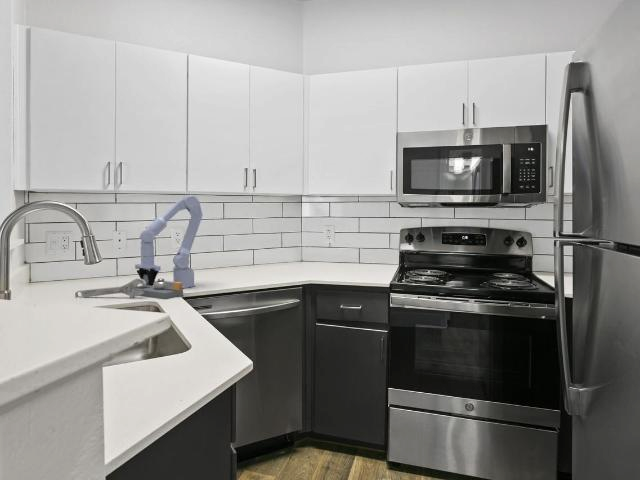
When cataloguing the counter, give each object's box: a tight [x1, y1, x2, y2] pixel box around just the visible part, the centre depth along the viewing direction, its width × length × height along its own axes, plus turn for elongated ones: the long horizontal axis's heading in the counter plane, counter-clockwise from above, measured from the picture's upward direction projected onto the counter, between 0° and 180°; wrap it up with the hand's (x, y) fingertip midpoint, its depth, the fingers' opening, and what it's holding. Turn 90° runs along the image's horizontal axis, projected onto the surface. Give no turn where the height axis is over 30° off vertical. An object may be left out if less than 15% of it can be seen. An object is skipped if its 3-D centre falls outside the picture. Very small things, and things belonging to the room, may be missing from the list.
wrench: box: [74, 277, 146, 299], centre depth 195 cm, size 8×2×30 cm
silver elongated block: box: [153, 278, 183, 291], centre depth 201 cm, size 6×14×4 cm, turn 62°
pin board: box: [137, 284, 184, 300], centre depth 202 cm, size 10×24×2 cm, turn 62°
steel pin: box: [143, 274, 149, 286], centre depth 215 cm, size 4×4×7 cm
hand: (147, 285), depth 216 cm, fingers closed on steel pin, 4 cm apart
